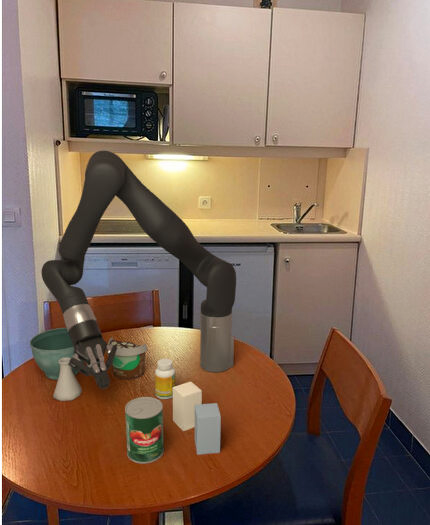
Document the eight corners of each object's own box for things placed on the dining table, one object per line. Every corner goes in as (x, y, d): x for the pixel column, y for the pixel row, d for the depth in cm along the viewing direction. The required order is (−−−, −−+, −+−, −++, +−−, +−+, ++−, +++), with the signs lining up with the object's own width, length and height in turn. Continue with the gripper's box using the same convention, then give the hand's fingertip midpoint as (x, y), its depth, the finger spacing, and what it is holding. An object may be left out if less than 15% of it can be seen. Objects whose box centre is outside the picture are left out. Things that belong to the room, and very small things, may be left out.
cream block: (190, 414, 111) (190, 381, 109) (201, 424, 107) (201, 390, 105) (173, 420, 108) (172, 387, 106) (183, 431, 104) (183, 396, 102)
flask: (73, 403, 115) (70, 368, 112) (47, 400, 116) (44, 364, 114) (86, 389, 122) (84, 355, 119) (62, 386, 123) (59, 352, 121)
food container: (99, 376, 128) (98, 344, 126) (112, 367, 134) (110, 336, 131) (136, 385, 124) (135, 352, 121) (148, 375, 129) (147, 343, 127)
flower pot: (26, 369, 132) (23, 335, 129) (80, 355, 141) (78, 323, 139) (42, 392, 119) (38, 355, 117) (99, 375, 129) (97, 341, 126)
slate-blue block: (216, 438, 102) (217, 403, 99) (219, 452, 97) (220, 416, 95) (194, 440, 101) (194, 404, 99) (197, 454, 96) (197, 417, 94)
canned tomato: (150, 435, 102) (149, 392, 100) (171, 452, 97) (170, 407, 94) (119, 450, 97) (117, 405, 94) (139, 469, 92) (138, 422, 89)
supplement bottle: (156, 389, 122) (155, 357, 120) (176, 389, 122) (175, 357, 120) (154, 400, 117) (153, 366, 114) (175, 399, 117) (174, 366, 115)
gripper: (102, 326, 122) (125, 384, 116) (53, 338, 114) (75, 401, 108) (109, 313, 117) (134, 373, 111) (59, 325, 109) (83, 391, 103)
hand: (105, 387), depth 109 cm, fingers closed
